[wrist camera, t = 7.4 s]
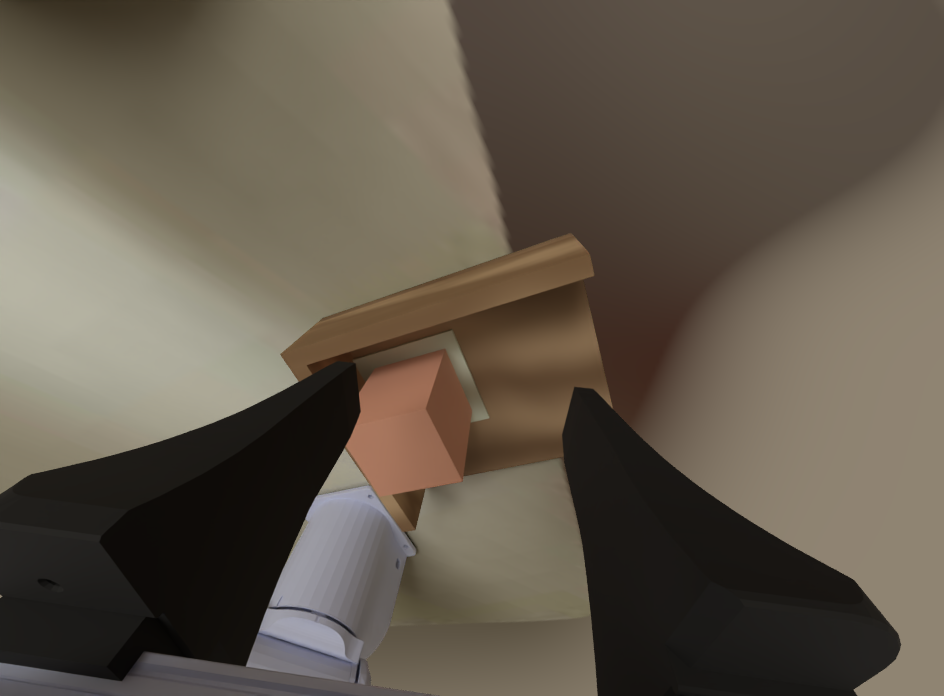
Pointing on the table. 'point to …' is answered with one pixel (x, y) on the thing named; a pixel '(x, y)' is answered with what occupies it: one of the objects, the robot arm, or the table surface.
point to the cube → (412, 425)
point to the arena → (481, 351)
